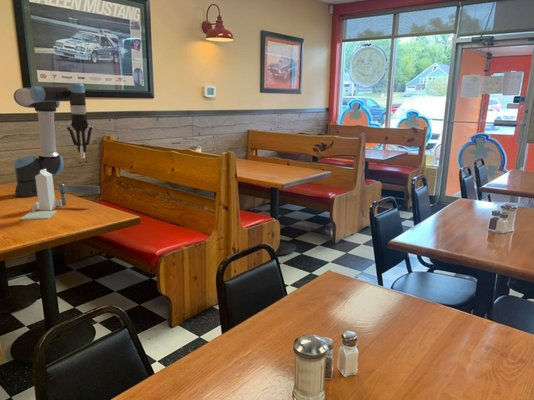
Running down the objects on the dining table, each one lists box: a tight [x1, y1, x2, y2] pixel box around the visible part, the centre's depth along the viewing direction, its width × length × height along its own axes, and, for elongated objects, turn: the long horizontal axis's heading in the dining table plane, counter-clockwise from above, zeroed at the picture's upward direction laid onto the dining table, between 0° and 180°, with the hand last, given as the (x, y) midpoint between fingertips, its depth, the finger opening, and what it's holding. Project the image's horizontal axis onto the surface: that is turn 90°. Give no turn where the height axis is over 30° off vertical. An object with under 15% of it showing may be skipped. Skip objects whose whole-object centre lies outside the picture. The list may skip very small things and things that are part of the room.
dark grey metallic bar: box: [58, 183, 101, 195], centre depth 231 cm, size 23×3×5 cm, turn 85°
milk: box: [35, 169, 57, 211], centre depth 223 cm, size 6×6×22 cm
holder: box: [30, 193, 67, 212], centre depth 227 cm, size 14×14×7 cm
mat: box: [20, 210, 58, 221], centre depth 213 cm, size 13×13×1 cm
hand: (83, 158), depth 223 cm, fingers closed
